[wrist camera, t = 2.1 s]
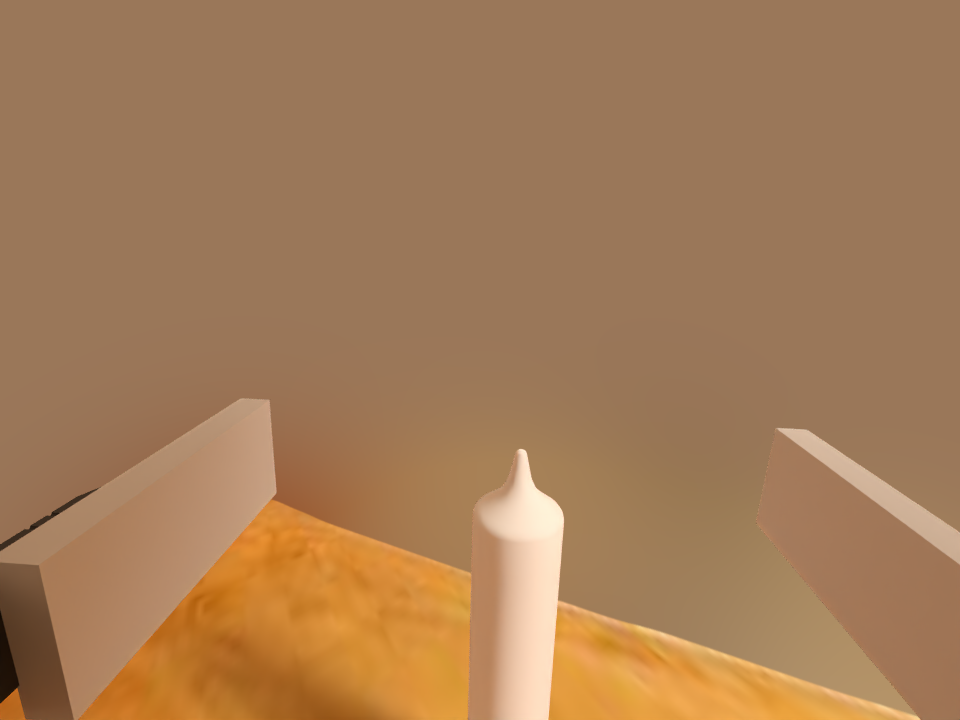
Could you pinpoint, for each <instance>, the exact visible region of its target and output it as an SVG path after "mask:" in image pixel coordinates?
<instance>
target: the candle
mask: <svg viewBox="0 0 960 720" xmlns="http://www.w3.org/2000/svg"><path fill="white" fill-rule="evenodd" d="M563 525H564V517H563V513H562V510H561V509H560V507H559V506H558V504H557V503H556V502H555V501H554V500H553V499H551V498H550V497H549V496H547V495H545V494H543V493H542V492H540V491H539V490H538V489H536V488H535V485H534V483H533V481H532V479H531V474H530V468H529V463H528V458H527V453H526V451H525V450H523V449H519V450H517V451H516V453H515V457H514V460H513V463H512V467H511V470H510V473H509V477H508V479H507V480H506V482H505V484H504V485H503V486H502V487H500V488H498V489H496V490H494V491H491V492H489V493H487V494H485V495H484V496H483V497H482V498H480V499H479V501H478V502H477V503H476V505H475V507H474V510H473V528H472V570H471V613H470V656H469V698H468V720H548V716H549V703H550V690H551V678H552V665H553V652H554V640H555V627H556V614H557V601H558V588H559V576H560V562H561V551H562V538H563Z"/></svg>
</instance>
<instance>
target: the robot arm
mask: <svg viewBox="0 0 960 720" xmlns="http://www.w3.org/2000/svg"><path fill="white" fill-rule="evenodd" d="M275 494H276V480H275V468H274V455H273V442H272V430H271V416H270V403H269V400H261V399H243V398H241V399H239V400H238V401H236V402H235V403H233V404H231V405H230V406H228V407H227V408H225V409H224V410H222V411H220V412H219V413H217V414H216V415H214V416H213V417H211V418H209V419H208V420H206V421H205V422H203V423H202V424H200V425H198V426H197V427H195V428H194V429H192V430H191V431H189V432H187V433H186V434H184V435H183V436H181V437H179V438H178V439H176V440H175V441H173V442H172V443H170V444H168V445H167V446H165V447H164V448H162V449H161V450H159V451H157V452H156V453H154V454H153V455H151V456H150V457H148V458H146V459H145V460H143V461H142V462H140V463H139V464H137V465H135V466H134V467H132V468H131V469H129V470H128V471H126V472H124V473H123V474H121V475H120V476H118V477H116V478H115V479H113V480H112V481H110V482H109V483H107V484H106V485H104V486H102V487H100V488H98V489H95V490H92V491H90V492H88V493H85V494H83V495H80V496H78V497H76V498H74V499H73V500H71V501H69V502H68V503H66V504H65V505H63V506H61V507H60V508H58V509H57V510H55V511H53V512H52V514H51V516H45V517H44V518H42V519H40V520H39V521H37V522H36V523H34V524H32V525H31V526H30V529H29V530H26V529H25V530H23V531H21V532H20V533H18V534H16V535H15V536H13V537H11V538H10V539H8V540H7V541H5V542H3V543H2V544H0V703H1V702H2V701H3V700H4V699H5V698H7V697H8V696H9V695H10V694H11V693H12V692H13V691H14V690H15V689H16V688H18V692H19V695H20V699H21V703H22V707H23V711H24V715H25V718H26V719H32V720H78V719H79V718H80V717H81V715H82V714H83V713H84V712H85V711H86V710H87V709H88V708H89V706H90V705H91V704H92V703H93V702H94V701H95V700H96V698H97V697H98V696H99V695H100V694H101V693H102V692H103V690H104V689H105V688H106V687H107V686H108V685H109V684H110V682H111V681H112V680H113V679H114V678H115V677H116V676H117V674H118V673H119V672H120V671H121V670H122V669H123V668H124V666H125V665H126V664H127V663H128V662H129V661H130V660H131V658H132V657H133V656H134V655H135V654H136V653H137V652H138V650H139V649H140V648H141V647H142V646H143V645H144V644H145V642H146V641H147V640H148V639H149V638H150V637H151V636H152V634H153V633H154V632H155V631H156V630H157V629H158V628H159V626H160V625H161V624H162V623H163V622H164V621H165V620H166V618H167V617H168V616H169V615H170V614H171V613H172V612H173V610H174V609H175V608H176V607H177V606H178V605H179V604H180V603H181V601H182V600H183V599H184V598H185V597H186V596H187V595H188V593H189V592H190V591H191V590H192V589H193V588H194V587H195V585H196V584H197V583H198V582H199V581H200V580H201V579H202V577H203V576H204V575H205V574H206V573H207V572H208V571H209V569H210V568H211V567H212V566H213V565H214V564H215V563H216V561H217V560H218V559H219V558H220V557H221V556H222V555H223V553H224V552H225V551H226V550H227V549H228V548H229V547H230V545H231V544H232V543H233V542H234V541H235V540H236V539H237V537H238V536H239V535H240V534H241V533H242V532H243V531H244V529H245V528H246V527H247V526H248V525H249V524H250V523H251V521H252V520H253V519H254V518H255V517H256V516H257V515H258V513H259V512H260V511H261V510H262V509H263V508H264V507H265V506H266V504H267V503H268V502H269V501H270V500H271V499H272V498H273V496H274V495H275ZM756 524H757V525H758V527H759V528H760V529H761V530H762V531H763V533H764V534H765V535H766V536H767V537H768V539H769V540H770V541H771V542H772V543H773V544H774V546H775V547H776V548H777V549H778V550H779V552H780V553H781V554H782V555H783V556H784V558H785V559H786V560H787V561H788V562H789V563H790V565H791V566H792V567H793V568H794V569H795V571H796V572H797V573H798V574H799V575H800V577H802V579H803V580H804V581H805V582H806V583H807V585H808V586H809V587H810V588H811V590H812V591H813V592H814V593H815V594H816V595H817V597H818V598H819V599H820V600H821V601H822V603H823V604H824V605H825V606H826V607H827V608H828V610H829V611H830V612H831V613H832V614H833V616H834V617H835V618H836V619H837V620H838V622H839V623H840V624H841V625H842V626H843V627H844V629H845V630H846V631H847V632H848V633H849V635H850V636H851V637H852V638H853V639H854V641H855V642H856V643H857V644H858V645H859V647H860V648H861V649H862V650H863V651H864V652H865V654H866V655H867V656H868V657H869V658H870V660H871V661H872V662H873V663H874V664H875V666H876V667H877V668H878V669H879V670H880V671H881V673H882V674H883V675H884V676H885V677H886V679H887V680H888V681H889V682H890V683H891V685H892V686H893V687H894V688H895V689H896V690H897V692H898V693H899V694H900V695H901V696H902V698H903V699H904V700H905V701H906V702H907V704H908V705H909V706H910V707H911V708H912V709H913V710H914V712H915V713H916V714H917V715H918V717H919V718H920V719H921V720H960V532H958V531H957V530H955V529H954V528H952V527H951V526H949V525H948V524H946V523H945V522H943V521H942V520H940V519H939V518H937V517H936V516H935V515H933V514H932V513H930V512H929V511H927V510H925V509H924V508H923V507H921V506H920V505H918V504H917V503H915V502H914V501H912V500H911V499H909V498H908V497H906V496H905V495H903V494H902V493H900V492H899V491H897V490H896V489H894V488H893V487H891V486H890V485H888V484H887V483H885V482H884V481H882V480H880V479H879V478H878V477H876V476H875V475H873V474H872V473H870V472H869V471H867V470H866V469H864V468H863V467H862V466H860V465H859V464H857V463H856V462H854V461H853V460H851V459H850V458H848V457H847V456H845V455H844V454H842V453H841V452H839V451H838V450H836V449H835V448H833V447H832V446H830V445H829V444H827V443H826V442H824V441H823V440H821V439H820V438H818V437H817V436H815V435H814V434H812V433H811V432H809V431H808V430H802V429H785V428H784V429H783V428H776V430H775V434H774V439H773V444H772V448H771V454H770V458H769V463H768V468H767V472H766V477H765V482H764V487H763V491H762V497H761V501H760V506H759V511H758V515H757V520H756Z"/></svg>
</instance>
